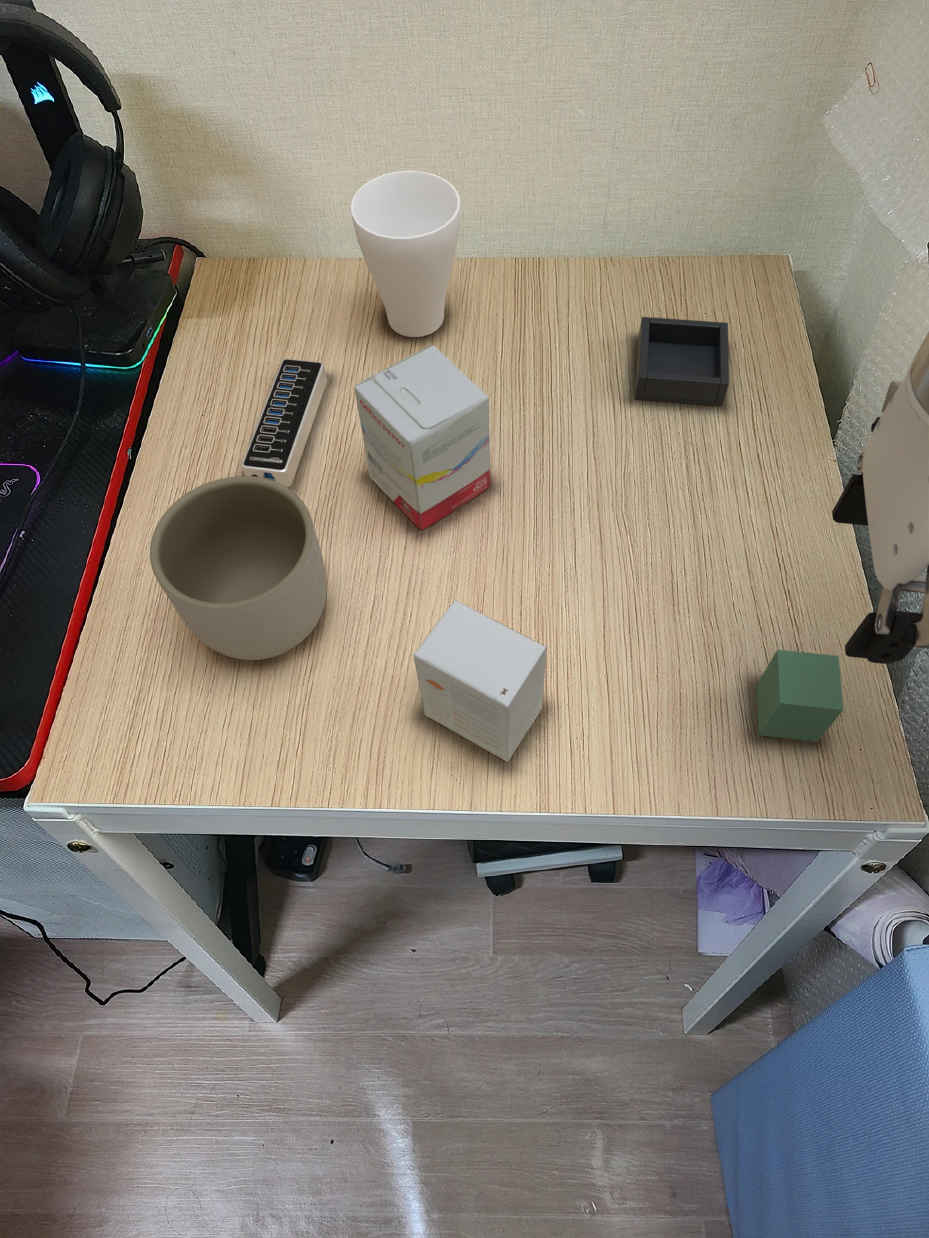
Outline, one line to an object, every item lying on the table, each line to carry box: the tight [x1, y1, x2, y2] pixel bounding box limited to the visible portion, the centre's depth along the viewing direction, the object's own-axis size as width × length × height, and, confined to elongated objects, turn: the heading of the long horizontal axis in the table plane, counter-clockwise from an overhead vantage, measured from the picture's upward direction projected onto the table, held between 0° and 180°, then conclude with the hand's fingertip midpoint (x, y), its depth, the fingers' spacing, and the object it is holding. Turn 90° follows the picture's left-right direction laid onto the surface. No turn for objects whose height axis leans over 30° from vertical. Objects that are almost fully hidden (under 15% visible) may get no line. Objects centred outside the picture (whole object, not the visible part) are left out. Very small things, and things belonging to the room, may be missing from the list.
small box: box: [412, 599, 547, 763], centre depth 65 cm, size 8×6×10 cm
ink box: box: [353, 344, 491, 531], centre depth 77 cm, size 9×9×12 cm
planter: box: [149, 475, 328, 661], centre depth 71 cm, size 12×12×11 cm
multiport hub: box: [241, 358, 328, 488], centre depth 85 cm, size 4×14×2 cm, turn 170°
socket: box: [634, 316, 730, 407], centre depth 87 cm, size 9×9×3 cm
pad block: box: [756, 649, 844, 742], centre depth 67 cm, size 4×4×6 cm
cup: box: [349, 170, 462, 338], centre depth 88 cm, size 10×10×14 cm
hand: (863, 584), depth 53 cm, fingers open, 9 cm apart
